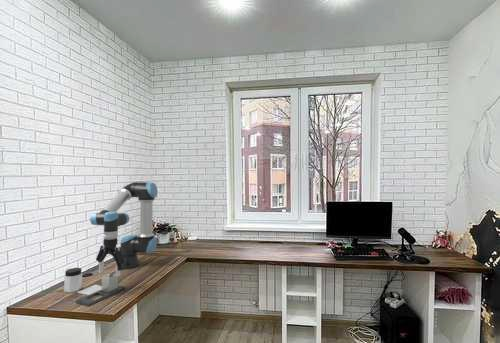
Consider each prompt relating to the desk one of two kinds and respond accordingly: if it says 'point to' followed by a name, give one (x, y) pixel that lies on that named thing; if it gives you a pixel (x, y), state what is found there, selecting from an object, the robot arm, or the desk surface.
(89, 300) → the rack rail
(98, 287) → the parts mat
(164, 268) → the desk surface
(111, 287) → the pale translucent bottle
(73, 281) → the jar
